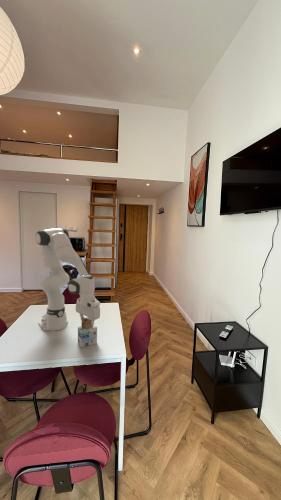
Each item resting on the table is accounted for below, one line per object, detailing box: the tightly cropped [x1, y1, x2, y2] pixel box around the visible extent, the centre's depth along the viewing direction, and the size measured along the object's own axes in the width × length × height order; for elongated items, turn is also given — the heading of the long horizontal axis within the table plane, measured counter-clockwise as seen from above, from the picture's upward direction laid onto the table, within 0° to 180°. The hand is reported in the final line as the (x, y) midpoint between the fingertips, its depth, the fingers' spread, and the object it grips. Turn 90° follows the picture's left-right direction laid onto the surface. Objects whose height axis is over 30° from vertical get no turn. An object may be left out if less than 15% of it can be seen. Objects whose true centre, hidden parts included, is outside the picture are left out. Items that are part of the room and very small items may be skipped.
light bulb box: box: [77, 324, 98, 348], centre depth 138 cm, size 11×7×11 cm, turn 126°
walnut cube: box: [81, 316, 93, 329], centre depth 137 cm, size 5×5×5 cm
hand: (87, 322), depth 137 cm, fingers open, 8 cm apart
